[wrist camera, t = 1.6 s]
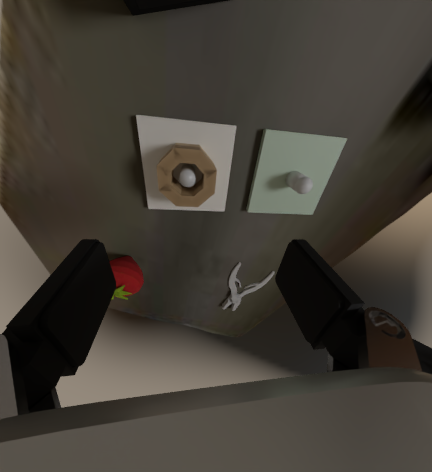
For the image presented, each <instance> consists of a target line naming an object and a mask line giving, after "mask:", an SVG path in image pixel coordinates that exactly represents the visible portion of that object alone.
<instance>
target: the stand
mask: <svg viewBox="0 0 432 472" xmlns="http://www.w3.org/2000/svg"><path fill="white" fill-rule="evenodd" d="M136 119H137V127H138V134H139V142H140V149H141V157H142V164H143V172H144V179H145V187H146V195H147V202H148V209H171V210H199V211H225V204H226V197H227V190H228V183H229V175H230V168H231V161H232V154H233V147H234V139H235V132H236V126H234V125H225V124H216V123H207V122H198V121H189V120H180V119H171V118H162V117H154V116H145V115H136ZM176 143H186V144H196V145H200V146H201V147H202V149H203V150H204V151H205V152H206V154H207V155H208V156H209V158H210V159H211V160H212V161H213V163H214V165H215V167H216V169H217V175H216V185H215V194H213V195H212V196H211V197H210V198H209V199H207V200H206V201H205V202H204V203H203V204H201V205H200V206H199V207H180V206H175V205H174V204H173V203H172V202H171V201H170V200H169V199H167V198H166V197H165V196H164V195H163V194H162V193H161V192H160V191H159V189H158V178H157V164H158V163H159V161H160V160H161V158H162V157H163V156H164V155H165V154H166V153H167V152H168V151H169V150H170V149H171V148H172V147H173V146H174V145H175V144H176ZM173 175H174V178H175V179H176V180H177V181H178V182H179V183H180V184H181V185H183V186H185V187H191V186H194V185H195V184H196V183H197V182H198V181H199V180H201V179H202V172H201V171H200V169H199V168H198V167H197V166H196V165H195V164H190V163H179V164H178V165H177V166H176V167H175V168H174V169H173Z"/></svg>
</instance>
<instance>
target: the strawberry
mask: <svg viewBox="0 0 432 472" xmlns="http://www.w3.org/2000/svg"><path fill="white" fill-rule="evenodd" d="M109 262H110V265H111V268H112V271H113V274H114V277H115V280H116V289H115V292H114V294H113V296H112V299H113V298H114V296H115V297H119V298H123V299H127V300H128V298H126V297H125V296H129V295H132V294H134V293H136V292H138V291H139V290H140V288H141V287H142V285H143V282H144V281H143V273H142V271H141V269H140V267H139V266H138V264H137V263H136V262H135V261H134V260H133V258H132V257H130V256H124V257H120V258H116V259H114V260H111V261H109ZM112 299H111V300H112Z"/></svg>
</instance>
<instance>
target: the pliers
mask: <svg viewBox="0 0 432 472" xmlns="http://www.w3.org/2000/svg"><path fill="white" fill-rule="evenodd" d="M240 265H241V263H240V262H239V263H238V264H237V265H236V266H235V267H234V269H233V270H232V272H231V274H230V277H229V287H230V289H231V295H230V296H229V297H228V298H227V299H226V300H225V302H224V303H223V304H222V308H223V309H225V308H227V307H228V306H229V305H230V304H232V306H231V307H232V311H235V309H236V308H237V307H238V305H239V304H240V301H241V297H242V296H244V295H246V294H248V293H251V292H253V291H255V290H257V289H259V288H261V287H262V286H263V285H265V284H266V283H267V282H268V281H269V280H270V279H271V277H272V276H273V274H274V273H275V272H274V271H272V272H271V273H270V274H269V275H268V276H267V277H266V278H265V279H263V280H262V281H261V282H259V283H253V284H249V285H247V286H245V287H244V288H247V287H250V286H253V287H250V288H248V289H245V290H244V291H242V292H241V293H240V294H237V288H236V285H235V281H237V282H238V283H239V286H240V287H241V284H240V281H239V280H238V279H236V278H235V277H236V274H237V271H238V269H239V267H240ZM254 285H255V286H254Z"/></svg>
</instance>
